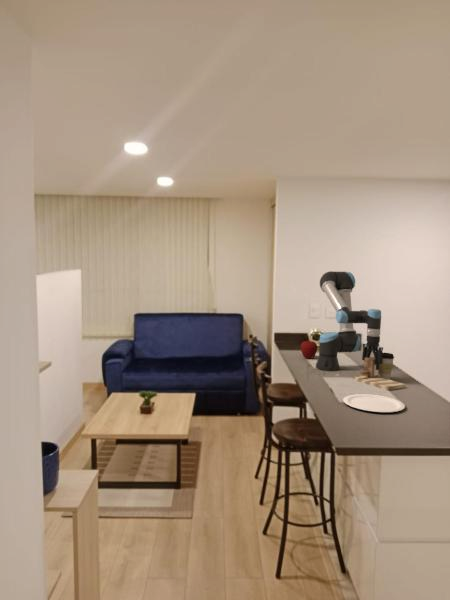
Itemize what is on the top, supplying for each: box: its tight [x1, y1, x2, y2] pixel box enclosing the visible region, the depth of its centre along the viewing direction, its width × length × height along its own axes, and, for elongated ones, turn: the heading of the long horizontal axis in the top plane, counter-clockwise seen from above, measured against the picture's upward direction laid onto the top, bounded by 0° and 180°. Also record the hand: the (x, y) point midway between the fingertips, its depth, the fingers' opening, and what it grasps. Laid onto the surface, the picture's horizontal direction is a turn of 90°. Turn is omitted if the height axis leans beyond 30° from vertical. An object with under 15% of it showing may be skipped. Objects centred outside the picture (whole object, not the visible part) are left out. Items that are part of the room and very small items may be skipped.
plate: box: [342, 393, 406, 414], centre depth 235 cm, size 29×29×2 cm
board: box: [352, 374, 406, 391], centre depth 276 cm, size 26×14×2 cm, turn 31°
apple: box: [300, 340, 318, 360], centre depth 343 cm, size 12×12×13 cm
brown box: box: [359, 356, 379, 378], centre depth 283 cm, size 6×12×11 cm, turn 121°
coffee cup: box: [379, 352, 395, 380], centre depth 289 cm, size 10×10×15 cm
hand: (371, 373), depth 285 cm, fingers closed on brown box, 6 cm apart
